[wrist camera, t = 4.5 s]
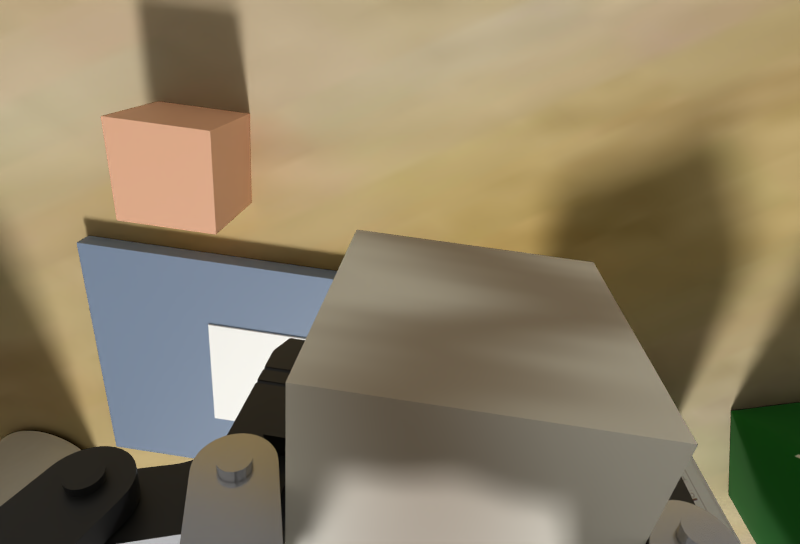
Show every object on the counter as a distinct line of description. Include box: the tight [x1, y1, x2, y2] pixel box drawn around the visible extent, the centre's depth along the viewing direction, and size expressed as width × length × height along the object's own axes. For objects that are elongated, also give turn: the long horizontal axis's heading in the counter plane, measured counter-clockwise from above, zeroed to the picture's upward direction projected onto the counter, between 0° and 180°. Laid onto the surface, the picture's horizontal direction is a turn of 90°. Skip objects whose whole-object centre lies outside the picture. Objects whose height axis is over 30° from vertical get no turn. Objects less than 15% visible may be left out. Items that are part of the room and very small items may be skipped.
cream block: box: [285, 230, 698, 544], centre depth 10 cm, size 5×6×5 cm
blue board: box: [77, 236, 337, 458], centre depth 30 cm, size 20×15×1 cm
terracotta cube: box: [101, 101, 252, 234], centre depth 23 cm, size 4×4×4 cm
